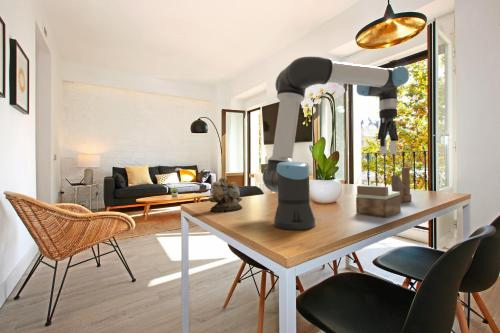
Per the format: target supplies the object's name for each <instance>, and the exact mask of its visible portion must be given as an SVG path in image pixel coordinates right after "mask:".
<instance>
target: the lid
mask: <svg viewBox="0 0 500 333" xmlns="http://www.w3.org/2000/svg"><path fill="white" fill-rule="evenodd" d="M397 195H400V192H393V191H392V190H390V191H389V187H388V186H379V185H378V186H376V185H375V186H374V185H373V186H372V185H357V186H356V196H355V198H357V197H360V198H372V199H385V200H386V199H388V198H391V197H394V196H397Z"/></svg>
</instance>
